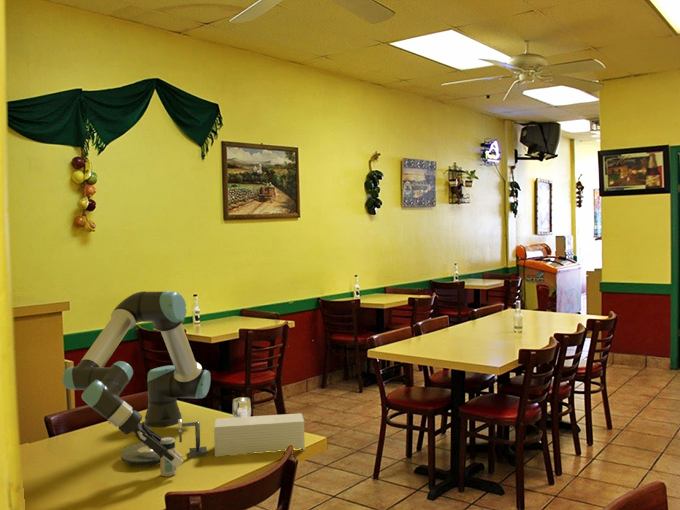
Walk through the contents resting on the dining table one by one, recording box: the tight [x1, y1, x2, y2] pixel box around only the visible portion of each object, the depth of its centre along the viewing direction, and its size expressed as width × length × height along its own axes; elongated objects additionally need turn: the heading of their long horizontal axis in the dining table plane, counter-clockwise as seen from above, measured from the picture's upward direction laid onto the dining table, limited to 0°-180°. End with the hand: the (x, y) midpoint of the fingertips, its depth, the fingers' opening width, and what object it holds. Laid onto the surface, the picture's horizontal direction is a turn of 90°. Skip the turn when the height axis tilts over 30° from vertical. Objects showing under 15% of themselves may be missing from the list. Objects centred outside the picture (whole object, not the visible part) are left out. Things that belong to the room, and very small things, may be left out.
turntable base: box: [127, 462, 160, 468], centre depth 223 cm, size 14×14×1 cm
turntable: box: [120, 442, 160, 465], centre depth 223 cm, size 18×18×2 cm
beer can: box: [159, 436, 177, 478], centre depth 208 cm, size 5×5×12 cm
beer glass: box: [232, 396, 252, 418], centre depth 244 cm, size 7×7×15 cm
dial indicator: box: [177, 419, 208, 459], centre depth 226 cm, size 6×10×13 cm, turn 104°
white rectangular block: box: [213, 413, 306, 457], centre depth 231 cm, size 32×11×11 cm, turn 98°
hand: (179, 461), depth 209 cm, fingers closed on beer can, 5 cm apart
